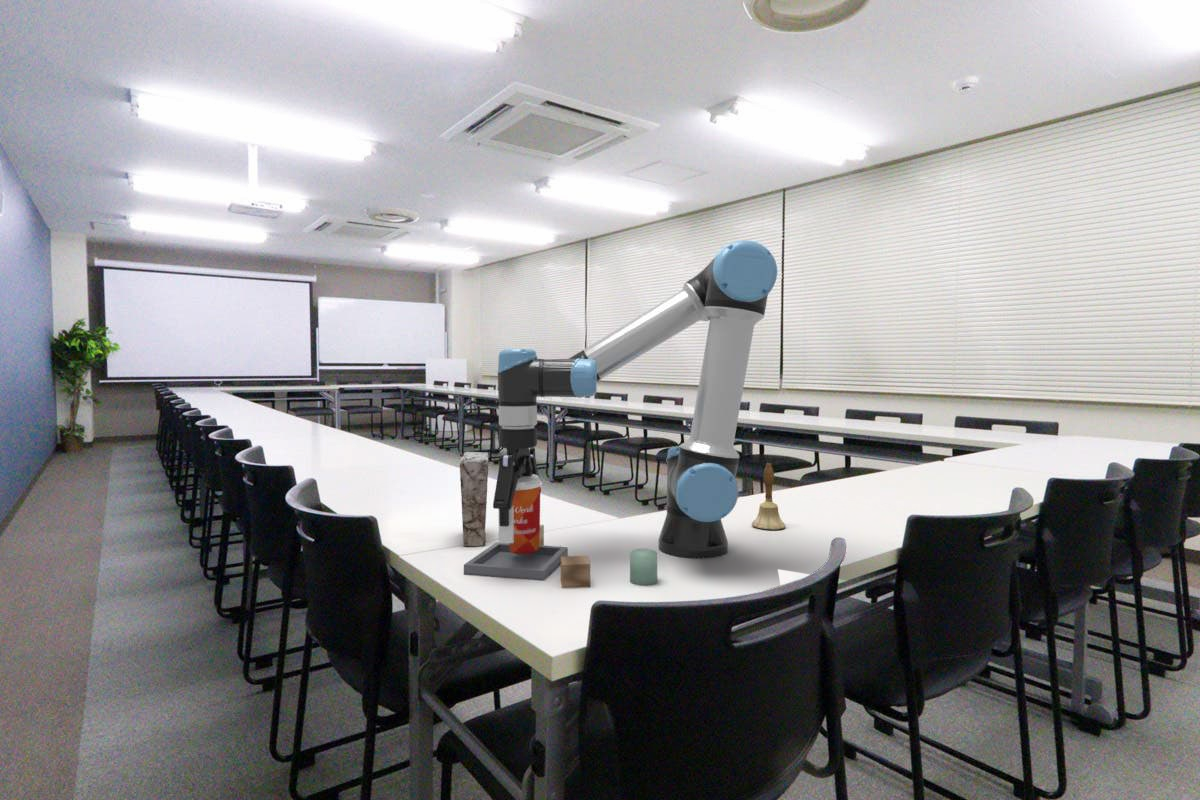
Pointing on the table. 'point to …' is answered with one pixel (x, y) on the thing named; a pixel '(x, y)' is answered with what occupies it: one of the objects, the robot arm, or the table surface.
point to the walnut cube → (575, 571)
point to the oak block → (541, 535)
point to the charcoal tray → (515, 562)
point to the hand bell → (768, 505)
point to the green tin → (643, 567)
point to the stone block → (474, 497)
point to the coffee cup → (526, 515)
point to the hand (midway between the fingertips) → (518, 533)
